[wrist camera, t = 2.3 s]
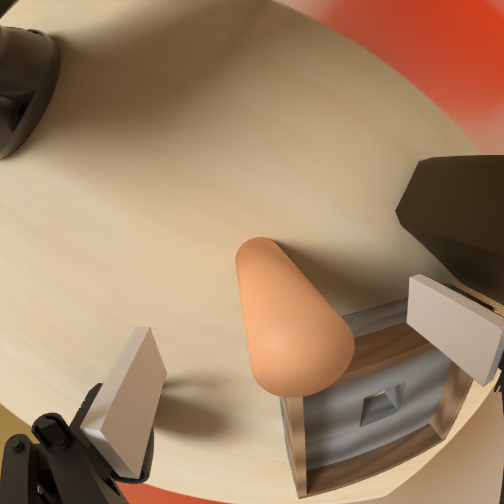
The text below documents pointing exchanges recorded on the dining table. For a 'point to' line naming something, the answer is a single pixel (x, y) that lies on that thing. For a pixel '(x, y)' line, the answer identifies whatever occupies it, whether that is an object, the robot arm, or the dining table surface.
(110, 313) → the dining table surface
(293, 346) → the peg
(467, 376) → the crate
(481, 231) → the bottle
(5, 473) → the robot arm
